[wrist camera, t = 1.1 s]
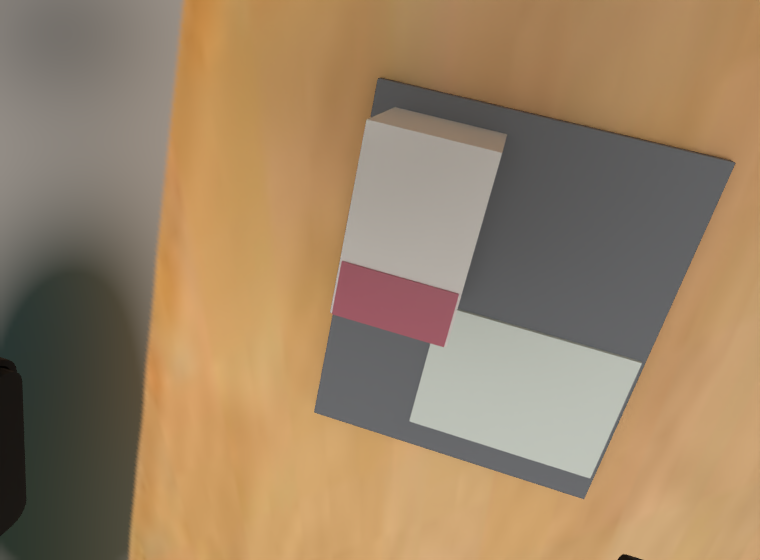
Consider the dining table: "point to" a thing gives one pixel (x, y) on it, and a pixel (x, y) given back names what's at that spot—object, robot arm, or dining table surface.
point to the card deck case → (414, 222)
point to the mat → (536, 299)
